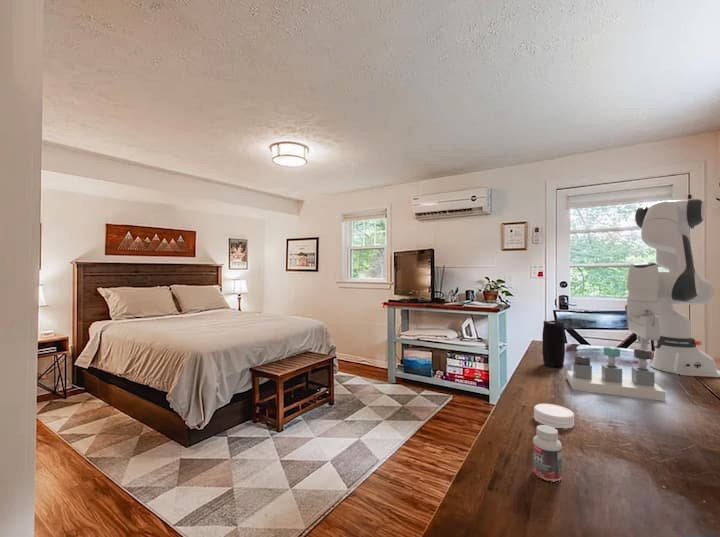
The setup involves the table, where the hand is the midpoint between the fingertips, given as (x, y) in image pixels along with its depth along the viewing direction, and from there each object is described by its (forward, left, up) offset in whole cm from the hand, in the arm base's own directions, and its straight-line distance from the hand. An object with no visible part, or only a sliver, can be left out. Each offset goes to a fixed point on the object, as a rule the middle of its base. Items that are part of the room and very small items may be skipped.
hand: (642, 348), depth 122 cm
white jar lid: (+31, +39, -16) cm, 52 cm away
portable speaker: (+25, -25, -15) cm, 39 cm away
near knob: (0, 0, -7) cm, 7 cm away
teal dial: (+9, 0, -7) cm, 11 cm away
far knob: (+18, 0, -11) cm, 21 cm away
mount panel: (+9, 0, -15) cm, 18 cm away
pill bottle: (+35, +69, -15) cm, 79 cm away
